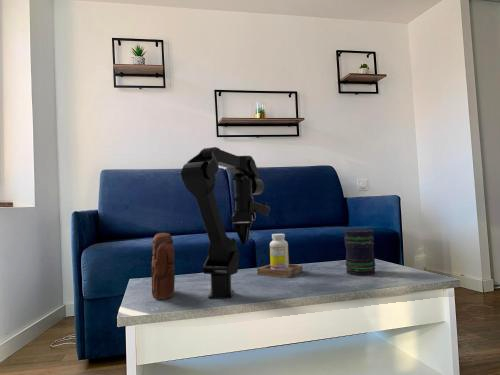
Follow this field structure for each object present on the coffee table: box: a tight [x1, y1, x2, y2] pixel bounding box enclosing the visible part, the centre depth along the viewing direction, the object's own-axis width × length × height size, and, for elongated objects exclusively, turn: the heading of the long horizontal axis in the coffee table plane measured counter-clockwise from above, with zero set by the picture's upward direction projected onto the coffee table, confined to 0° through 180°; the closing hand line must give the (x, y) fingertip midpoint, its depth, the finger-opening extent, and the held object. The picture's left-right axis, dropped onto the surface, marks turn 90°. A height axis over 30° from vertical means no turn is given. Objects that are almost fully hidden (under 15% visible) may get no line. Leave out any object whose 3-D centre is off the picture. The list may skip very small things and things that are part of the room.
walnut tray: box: [256, 263, 303, 279], centre depth 125 cm, size 12×12×2 cm
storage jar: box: [344, 228, 376, 277], centre depth 120 cm, size 10×10×15 cm
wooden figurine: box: [151, 232, 176, 300], centre depth 101 cm, size 12×6×18 cm, turn 19°
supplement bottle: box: [269, 233, 290, 270], centre depth 125 cm, size 7×7×13 cm
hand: (245, 242), depth 111 cm, fingers open, 9 cm apart
